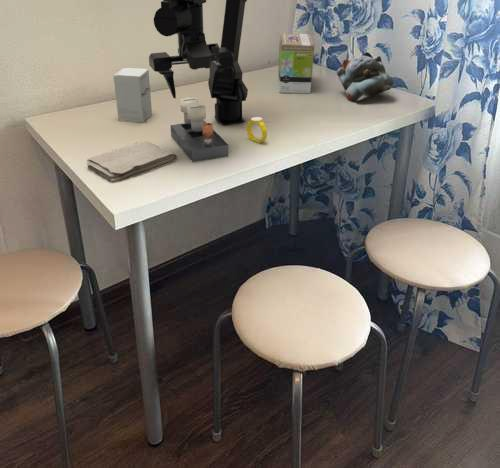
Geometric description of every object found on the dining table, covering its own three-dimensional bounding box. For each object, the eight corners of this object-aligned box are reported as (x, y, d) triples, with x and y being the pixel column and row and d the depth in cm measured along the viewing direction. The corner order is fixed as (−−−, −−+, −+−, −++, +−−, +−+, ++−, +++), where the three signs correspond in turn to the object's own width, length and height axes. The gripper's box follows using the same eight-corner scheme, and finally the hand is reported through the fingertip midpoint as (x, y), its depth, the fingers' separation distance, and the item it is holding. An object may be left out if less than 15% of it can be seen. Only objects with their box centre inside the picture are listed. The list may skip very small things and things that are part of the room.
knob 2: (203, 124, 143) (202, 102, 140) (209, 131, 140) (208, 108, 137) (186, 127, 142) (184, 105, 139) (191, 133, 138) (190, 110, 135)
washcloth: (84, 169, 132) (82, 157, 131) (148, 147, 143) (147, 135, 141) (113, 186, 125) (111, 173, 124) (178, 162, 136) (177, 149, 134)
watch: (245, 140, 147) (243, 117, 144) (252, 137, 148) (251, 114, 146) (261, 145, 143) (260, 122, 140) (269, 142, 145) (268, 119, 142)
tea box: (311, 93, 177) (315, 44, 169) (278, 93, 177) (280, 44, 169) (308, 79, 190) (311, 32, 182) (277, 78, 190) (279, 32, 182)
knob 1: (195, 117, 148) (194, 95, 145) (201, 123, 144) (200, 101, 141) (179, 119, 146) (177, 98, 143) (184, 125, 143) (183, 103, 140)
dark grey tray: (204, 131, 151) (204, 120, 149) (228, 156, 138) (228, 144, 136) (171, 136, 148) (170, 125, 146) (192, 162, 135) (191, 150, 133)
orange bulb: (211, 142, 137) (210, 122, 134) (214, 146, 135) (214, 125, 133) (201, 144, 136) (200, 123, 134) (205, 147, 134) (204, 127, 132)
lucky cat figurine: (346, 104, 169) (334, 57, 167) (344, 107, 180) (332, 63, 179) (398, 90, 167) (386, 42, 165) (391, 93, 179) (380, 49, 177)
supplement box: (143, 123, 156) (139, 76, 149) (117, 121, 157) (112, 74, 150) (153, 113, 162) (149, 68, 155) (128, 111, 163) (123, 66, 156)
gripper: (157, 38, 119) (162, 111, 127) (242, 31, 125) (242, 102, 133) (145, 27, 128) (151, 96, 136) (225, 21, 134) (226, 88, 142)
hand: (193, 95), depth 137 cm, fingers open, 9 cm apart
